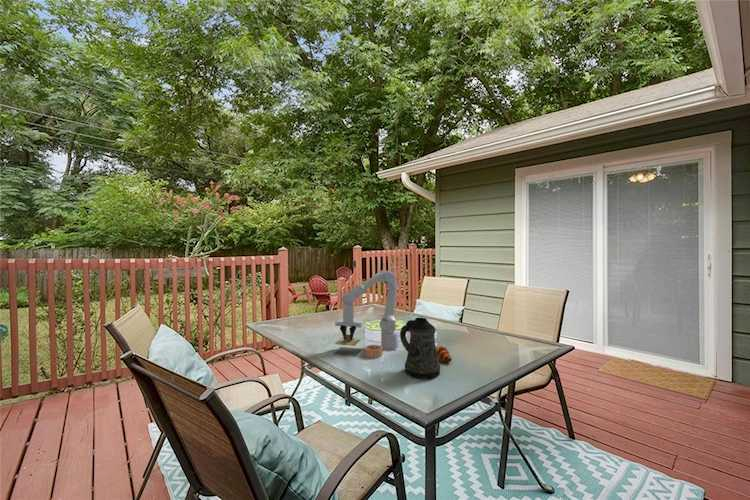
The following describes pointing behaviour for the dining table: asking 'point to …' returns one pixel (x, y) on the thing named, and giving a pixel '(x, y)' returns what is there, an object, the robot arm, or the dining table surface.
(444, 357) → the croissant
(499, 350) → the dining table surface
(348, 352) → the mat
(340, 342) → the lid
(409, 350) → the beer stein
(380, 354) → the bowl
